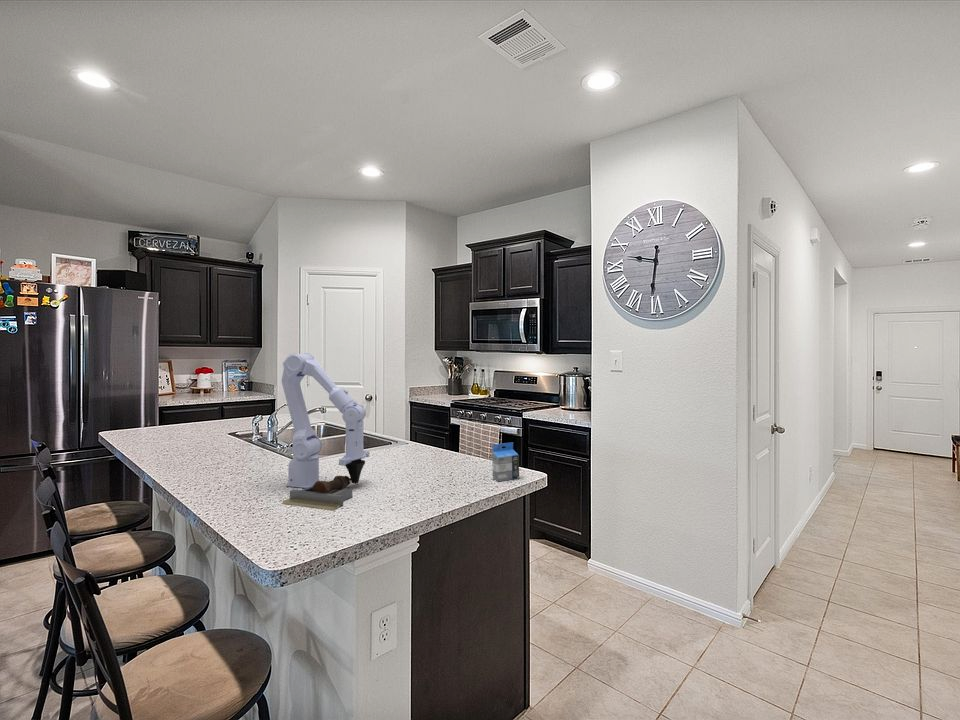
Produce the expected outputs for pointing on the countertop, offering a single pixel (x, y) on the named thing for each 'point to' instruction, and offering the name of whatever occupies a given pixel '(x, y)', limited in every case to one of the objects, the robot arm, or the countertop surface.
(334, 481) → the bolt
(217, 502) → the countertop surface
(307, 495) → the grey shallow rectangular tray
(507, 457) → the label tape box
